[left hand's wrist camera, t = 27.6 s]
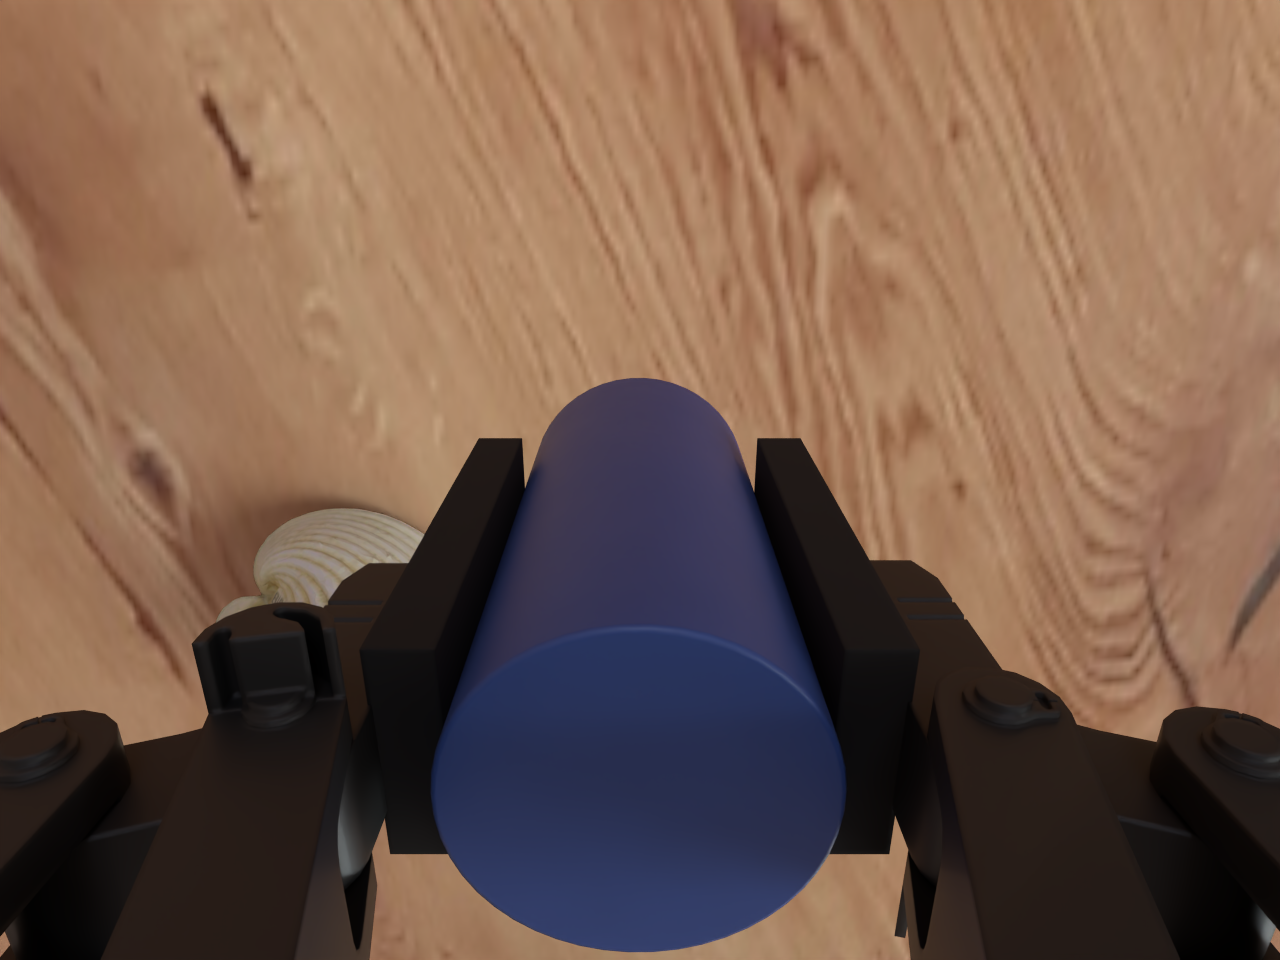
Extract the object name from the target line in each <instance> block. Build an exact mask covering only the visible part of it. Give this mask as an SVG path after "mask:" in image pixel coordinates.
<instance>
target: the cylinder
mask: <svg viewBox="0 0 1280 960" xmlns="http://www.w3.org/2000/svg"><path fill="white" fill-rule="evenodd" d="M846 793H847V783H846V767H845V763H844V759H843V754H842V750H841V746H840V743H839V740H838V737H837V734H836V731H835V728H834V725H833V722H832V719H831V717H830V714H829V711H828V708H827V705H826V702H825V699H824V696H823V693H822V690H821V687H820V684H819V681H818V678H817V676H816V673H815V670H814V667H813V664H812V661H811V658H810V655H809V652H808V649H807V646H806V643H805V640H804V637H803V634H802V632H801V629H800V626H799V623H798V620H797V617H796V614H795V611H794V608H793V605H792V602H791V599H790V596H789V593H788V591H787V588H786V585H785V582H784V579H783V576H782V573H781V570H780V567H779V564H778V561H777V558H776V555H775V552H774V549H773V547H772V544H771V541H770V538H769V535H768V532H767V529H766V526H765V523H764V520H763V517H762V514H761V511H760V508H759V505H758V503H757V500H756V497H755V494H754V491H753V488H752V485H751V482H750V479H749V476H748V473H747V470H746V467H745V464H744V462H743V459H742V456H741V453H740V450H739V447H738V444H737V442H736V439H735V437H734V435H733V433H732V431H731V429H730V428H729V426H728V424H727V423H726V421H725V420H724V419H723V417H722V416H721V415H720V414H719V412H718V411H717V410H715V409H714V408H713V407H712V406H711V405H710V404H709V403H708V402H707V401H705V400H704V399H703V398H701V397H700V396H699V395H697V394H695V393H693V392H692V391H690V390H688V389H686V388H684V387H681V386H679V385H676V384H673V383H670V382H666V381H662V380H657V379H648V378H629V379H622V380H615V381H612V382H608V383H605V384H602V385H599V386H597V387H594V388H592V389H590V390H588V391H586V392H585V393H583V394H581V395H579V396H578V397H576V398H575V399H574V400H573V401H571V402H570V403H569V404H567V405H566V406H565V407H564V408H563V409H562V410H561V412H560V413H559V414H558V415H557V416H556V417H555V419H554V420H553V421H552V423H551V424H550V425H549V427H548V429H547V431H546V433H545V435H544V436H543V439H542V442H541V444H540V447H539V450H538V453H537V456H536V459H535V461H534V464H533V467H532V470H531V473H530V476H529V479H528V482H527V485H526V488H525V491H524V493H523V496H522V499H521V502H520V505H519V508H518V511H517V514H516V517H515V520H514V523H513V525H512V528H511V531H510V534H509V537H508V540H507V543H506V546H505V549H504V552H503V555H502V558H501V560H500V563H499V566H498V569H497V572H496V575H495V578H494V581H493V584H492V587H491V590H490V592H489V595H488V598H487V601H486V604H485V607H484V610H483V613H482V616H481V619H480V622H479V624H478V627H477V630H476V633H475V636H474V639H473V642H472V645H471V648H470V651H469V654H468V657H467V659H466V662H465V665H464V668H463V671H462V674H461V677H460V680H459V683H458V686H457V689H456V691H455V694H454V697H453V700H452V703H451V706H450V709H449V712H448V715H447V718H446V721H445V723H444V726H443V729H442V732H441V735H440V738H439V741H438V744H437V747H436V750H435V754H434V759H433V764H432V769H431V790H430V794H431V801H432V808H433V815H434V819H435V822H436V825H437V829H438V832H439V835H440V838H441V840H442V842H443V844H444V846H445V849H446V851H447V853H448V855H449V857H450V858H451V860H452V861H453V863H454V864H455V866H456V867H457V869H458V870H459V872H460V873H461V874H462V876H463V877H464V878H465V879H466V880H467V881H468V882H469V884H470V885H471V886H472V887H473V888H474V889H475V890H476V891H477V892H478V893H479V894H480V895H481V896H482V897H484V898H485V899H486V900H487V901H488V902H489V903H491V904H492V905H493V906H494V907H496V908H497V909H499V910H500V911H502V912H503V913H505V914H506V915H508V916H509V917H510V918H512V919H513V920H515V921H517V922H519V923H521V924H523V925H525V926H527V927H529V928H531V929H533V930H535V931H537V932H540V933H542V934H545V935H547V936H550V937H553V938H555V939H558V940H561V941H565V942H569V943H572V944H576V945H579V946H584V947H590V948H595V949H601V950H609V951H621V952H657V951H667V950H677V949H682V948H687V947H692V946H697V945H702V944H705V943H709V942H712V941H715V940H719V939H722V938H725V937H728V936H730V935H732V934H735V933H737V932H740V931H742V930H744V929H747V928H749V927H750V926H752V925H754V924H756V923H758V922H760V921H761V920H763V919H765V918H767V917H768V916H770V915H771V914H773V913H774V912H776V911H777V910H778V909H780V908H781V907H783V906H784V905H786V904H787V903H788V902H789V901H790V900H791V899H792V898H793V897H795V896H796V895H797V894H798V893H799V892H800V891H801V890H802V889H803V888H804V887H805V886H806V885H807V884H808V883H809V881H810V880H811V879H812V878H813V877H814V876H815V874H816V873H817V872H818V871H819V869H820V868H821V866H822V864H823V863H824V861H825V860H826V858H827V857H828V855H829V853H830V851H831V849H832V847H833V845H834V842H835V840H836V838H837V836H838V833H839V829H840V826H841V822H842V818H843V815H844V811H845V802H846Z"/></svg>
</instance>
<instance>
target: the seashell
mask: <svg viewBox="0 0 1280 960" xmlns="http://www.w3.org/2000/svg"><path fill="white" fill-rule="evenodd" d="M424 535H425V534H423V533H422V532H420V531H419V530H417V529H415V528H413V527H411V526H409V525H408V524H406V523H404V522H402V521H400V520H397V519H395V518H392V517H390V516H387V515H384V514H380V513H376V512H372V511H367V510H361V509H349V508H338V509H325V510H319V511H314V512H310V513H307V514H304V515H302V516H299V517H296V518H293V519H291V520H289V521H288V522H286V523H284V524H283V525H281V526H280V527H279V528H278V529H276V530H275V531H274V532H273V533H272V534H270V535H269V536H268V537H267V539H266V540H265V541H264V543H263V544H262V546H261V547H260V548H259V550H258V553H257V555H256V557H255V561H254V566H253V573H254V579H255V583H256V585H257V586H258V588H259V590H260V592H261V596H246V597H240V598H237V599H235V600H233V601H232V602H231V603H229V604H228V605H227V606H225V607H224V608H223V609H222V611H221V612H220V614H219V616H218V618H217V620H216V622H218V621H219V620H221V619H223V618H224V617H226V616H229V615H232V614H234V613H237V612H240V611H243V610H245V609H248V608H251V607H256V606H261V605H267V604H272V603H277V602H304V603H308V604H312V605H316V606H320V607H324V606H325V605H328V600H329V599H330V597H331V596H332V595H333V593H334V592H335V590H336V589H337V587H338V586H339V585H340V583H341V582H342V580H344V579H345V578H347V577H348V576H350V575H352V574H353V573H355V572H356V571H358V570H359V569H361V568H362V567H364V566H365V565H367V564H368V563H409V561H410V559H411V557H412V556H413V554H414V552H415V550H416V549H417V547H418V545H419V543H420V542H421V540H422V538H423V536H424Z"/></svg>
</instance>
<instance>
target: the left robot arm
mask: <svg viewBox="0 0 1280 960" xmlns="http://www.w3.org/2000/svg"><path fill="white" fill-rule="evenodd" d="M524 491H525V482H524V465H523V447H522V438H479V439H478V441H477V443H476V445H475V446H474V448H473V450H472V452H471V453H470V455H469V457H468V459H467V460H466V462H465V464H464V466H463V467H462V469H461V471H460V473H459V475H458V476H457V478H456V480H455V482H454V483H453V485H452V487H451V489H450V490H449V492H448V494H447V496H446V497H445V499H444V501H443V503H442V505H441V506H440V508H439V510H438V512H437V513H436V515H435V517H434V519H433V520H432V522H431V524H430V526H429V527H428V529H427V531H426V533H425V535H424V536H423V538H422V540H421V542H420V543H419V545H418V547H417V549H416V550H415V552H414V554H413V556H412V557H411V559H410V561H409V563H368V564H367V565H365V566H364V567H362V568H361V569H359V570H358V571H356V572H355V573H353V574H352V575H350V576H348V577H347V578H345V579H344V580H342V582H341V583H340V585H339V586H338V587H337V589H336V590H335V592H334V593H333V595H332V596H331V597H330V599H329V600H328V605H325V606H324V607H320V606H316V605H312V604H308V603H304V602H277V603H272V604H267V605H261V606H256V607H251V608H248V609H245V610H243V611H240V612H237V613H234V614H232V615H229V616H226V617H224V618H223V619H221V620H219V621H218V622H216V623H214V624H213V625H211V626H209V627H208V628H206V629H205V630H204V631H203V632H202V633H201V634H200V635H199V636H198V637H197V639H196V640H195V641H194V642H193V643H192V647H193V651H194V655H195V659H196V664H197V668H198V672H199V676H200V680H201V684H202V688H203V692H204V697H205V701H206V705H207V709H208V713H209V714H208V717H207V719H206V721H205V723H204V726H203V728H201V729H198V730H194V731H190V732H186V733H183V734H178V735H173V736H168V737H164V738H159V739H154V740H149V741H144V742H139V743H134V744H129V745H123V742H122V739H121V735H120V732H119V729H118V725H117V723H116V722H115V721H113V720H112V719H111V718H110V717H108V716H107V715H106V714H103V713H97V712H92V711H86V710H80V711H70V712H60V713H53V714H48V715H43V716H42V717H40V718H38V717H36V718H33V719H30V720H27V721H24V722H22V723H20V724H18V725H16V726H14V727H12V728H10V729H8V730H6V731H3V732H1V733H0V936H1V935H2V934H3V933H4V932H5V933H6V935H7V938H8V940H9V943H10V946H9V947H8V948H7V950H6V951H5V952H4V953H3V954H2V956H1V957H0V960H369V958H370V949H371V939H372V930H373V920H374V911H375V901H376V892H377V881H376V874H375V868H374V862H373V856H372V850H373V847H374V845H375V842H376V839H377V837H378V834H379V832H380V829H381V826H382V824H383V821H384V819H385V823H386V829H387V836H388V842H389V849H390V854H448V853H447V851H446V849H445V846H444V844H443V842H442V840H441V838H440V835H439V832H438V829H437V825H436V822H435V819H434V815H433V808H432V801H431V794H430V790H431V769H432V764H433V759H434V754H435V750H436V747H437V744H438V741H439V738H440V735H441V732H442V729H443V726H444V723H445V721H446V718H447V715H448V712H449V709H450V706H451V703H452V700H453V697H454V694H455V691H456V689H457V686H458V683H459V680H460V677H461V674H462V671H463V668H464V665H465V662H466V659H467V657H468V654H469V651H470V648H471V645H472V642H473V639H474V636H475V633H476V630H477V627H478V624H479V622H480V619H481V616H482V613H483V610H484V607H485V604H486V601H487V598H488V595H489V592H490V590H491V587H492V584H493V581H494V578H495V575H496V572H497V569H498V566H499V563H500V560H501V558H502V555H503V552H504V549H505V546H506V543H507V540H508V537H509V534H510V531H511V528H512V525H513V523H514V520H515V517H516V514H517V511H518V508H519V505H520V502H521V499H522V496H523V493H524ZM754 494H755V497H756V500H757V503H758V505H759V508H760V511H761V514H762V517H763V520H764V523H765V526H766V529H767V532H768V535H769V538H770V541H771V544H772V547H773V549H774V552H775V555H776V558H777V561H778V564H779V567H780V570H781V573H782V576H783V579H784V582H785V585H786V588H787V591H788V593H789V596H790V599H791V602H792V605H793V608H794V611H795V614H796V617H797V620H798V623H799V626H800V629H801V632H802V634H803V637H804V640H805V643H806V646H807V649H808V652H809V655H810V658H811V661H812V664H813V667H814V670H815V673H816V676H817V678H818V681H819V684H820V687H821V690H822V693H823V696H824V699H825V702H826V705H827V708H828V711H829V714H830V717H831V719H832V722H833V725H834V728H835V731H836V734H837V737H838V740H839V743H840V746H841V750H842V754H843V759H844V763H845V767H846V783H847V793H846V802H845V811H844V815H843V818H842V822H841V826H840V829H839V833H838V836H837V838H836V840H835V842H834V845H833V847H832V849H831V851H830V853H829V854H889V852H890V845H891V839H892V832H893V826H894V819H895V816H896V819H897V821H898V824H899V826H900V829H901V832H902V834H903V837H904V839H905V842H906V845H907V847H908V856H907V862H906V868H905V874H904V880H903V886H902V892H901V899H900V905H899V911H898V917H897V923H896V930H895V936H898V937H903V938H905V936H906V931H907V928H908V937H909V947H910V956H911V960H1280V953H1279V952H1278V950H1277V949H1276V948H1275V947H1274V946H1273V944H1272V943H1271V942H1270V941H1271V939H1272V936H1273V934H1274V931H1275V929H1276V928H1277V929H1278V930H1279V931H1280V729H1279V728H1277V727H1274V726H1272V725H1270V724H1268V723H1266V722H1264V721H1262V720H1261V719H1259V718H1256V717H1253V716H1250V715H1247V714H1244V713H1242V714H1240V713H1239V712H1236V711H1231V710H1226V709H1217V708H1207V707H1191V708H1185V709H1179V710H1175V711H1174V712H1172V713H1171V714H1170V715H1169V716H1167V717H1166V718H1165V719H1164V720H1163V723H1162V726H1161V730H1160V733H1159V736H1158V740H1157V742H1153V741H1148V740H1143V739H1139V738H1134V737H1129V736H1124V735H1119V734H1114V733H1109V732H1104V731H1099V730H1095V729H1091V728H1088V727H1084V726H1080V725H1077V724H1076V722H1075V720H1074V717H1073V715H1072V713H1071V712H1070V710H1069V709H1068V708H1067V706H1066V705H1065V704H1064V702H1063V701H1062V700H1061V698H1060V697H1059V696H1057V695H1056V694H1055V693H1053V692H1052V691H1050V690H1049V689H1047V688H1046V687H1045V686H1043V685H1042V684H1040V683H1038V682H1036V681H1034V680H1031V679H1029V678H1027V677H1024V676H1022V675H1020V674H1017V673H1014V672H1010V671H1005V670H1002V669H1001V667H1000V666H999V664H998V663H997V662H996V660H995V659H994V657H993V656H992V654H991V653H990V652H989V650H988V649H987V647H986V646H985V645H984V643H983V642H982V640H981V639H980V637H979V636H978V635H977V633H976V632H975V630H974V629H973V627H972V626H971V625H970V623H969V622H968V620H964V615H963V613H962V612H961V610H960V609H959V608H958V606H957V605H956V603H955V602H952V598H951V596H950V595H949V593H948V592H947V591H946V589H945V588H944V586H943V585H942V583H941V582H940V581H939V579H938V578H937V577H935V576H934V575H932V574H931V573H929V572H928V571H926V570H925V569H923V568H922V567H920V566H919V565H917V564H916V563H914V562H912V561H911V560H869V558H868V557H867V555H866V553H865V551H864V550H863V548H862V546H861V544H860V543H859V541H858V539H857V537H856V536H855V534H854V532H853V530H852V528H851V527H850V525H849V523H848V521H847V520H846V518H845V516H844V514H843V513H842V511H841V509H840V507H839V506H838V504H837V502H836V500H835V498H834V497H833V495H832V493H831V491H830V490H829V488H828V486H827V484H826V483H825V481H824V479H823V477H822V476H821V474H820V472H819V470H818V468H817V467H816V465H815V463H814V461H813V460H812V458H811V456H810V454H809V453H808V451H807V449H806V447H805V446H804V444H803V442H802V440H801V438H757V455H756V473H755V490H754Z"/></svg>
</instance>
